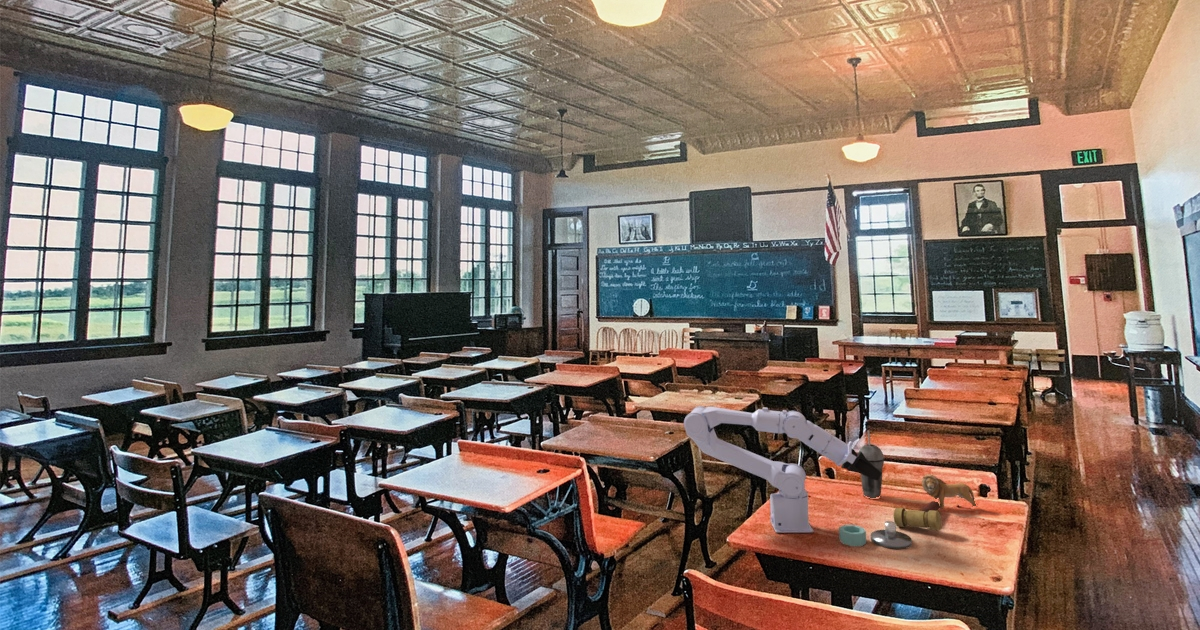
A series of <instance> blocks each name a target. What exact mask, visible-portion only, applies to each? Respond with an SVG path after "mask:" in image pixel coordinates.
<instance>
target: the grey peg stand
mask: <svg viewBox="0 0 1200 630" xmlns="http://www.w3.org/2000/svg"><path fill="white" fill-rule="evenodd" d="M884 528H885V529H878V530H874V531H872V532H871V533H870V541H871V542H872V543H873V544H874V545H876V546H879V547H882V548H885V549H890V550H891V549H892V550H903V549H909V548H910V547H911V546H912V545H913V540H912V537H911V536H910V535H908V534H906V533H904V532H903V531H898V530H897V526H896V523H895V522H894V521H891V520H888V521H887V520H885V521H884Z"/></svg>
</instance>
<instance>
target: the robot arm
mask: <svg viewBox="0 0 1200 630" xmlns="http://www.w3.org/2000/svg"><path fill="white" fill-rule="evenodd" d="M721 424H731V425H741V426H742V425H743V426H751V427H753V429H755V431H757V432H763V433H765V432H766V433H771V434H772V433H774V434H785V435H787V437H788V438H790V439H797V440H798V441H800V442H802V443H803V444H805V445H806V446H807V447H808V448H811V449H812V450H814V451H815V452H817V453H818V454H820V455H822V456H823V457H824V458H826V459H828V460H829V461H831V462H833V463H834V464H835V465H836V466H837V467H840V468H841V469H846V470H847V472H854V473H857V474H860V475H861V474H862V475H864V476H867V477H869V478H872V479H874V480H877V481H878V479H879V478H880V476H881V475H882V476H883V472H882V473H881V472H880V471H879V470H878V469H877V468H876V467H874V466H873V465H872V464H871V463H870V462H869V461H868V460H867V459H866V458H865V456H864V455H863V453H862V452H861V451H859V450H858V452H859V453H857V452H856V450H855V449H853V448H852V446H853V445H854V442H853V441H851V440H850V441H848V442H847V443H846V442H844V441H842V440H841V439H839V438H838V437H836V436H834V435H833V434H831V433H830V432H828V431H826V430H825V429H824V428H822V427H820V426H818V424H814V423H813V422H812V421H811V420H807V419H806V417H805V416H804V415H803V413H801V412H799V411H796V410H790V411H787V410H786V409H783V410H782V411H779V410H778V411H777V410H770V409H769V408H768V407H764V406H763V407H762V409H760V408H758V409H757V410H755V411H754V412H747V411H743V410H741V411H740V410H736V409H729V408H722V407H718V406H717V407H716V406H706V407H705V406H702V405H699V406H695V407H694V408H693V409H692V410H691V412H690V413H688V414H686V416H685V418H684V420H683V427H684V430H685V433H686V436H687V437H689V438H690V439H691V440H692V441H693V442H694V443H695V444H696V446H697V447H698V448H699V450H700V451H701V452H702V453H703V454H704V455H707V456H710V457H712V458H714V459H717V460H720V461H722V462H723V463H727V464H729V465H731V466H734V467H736V468H738V469H741V470H742V471H745V472H747V473H750V474H752V475H754V476H757V477H760V478H762V479H764V480H766V481H767V482H768V483H769V484H770V485H771V486H772V487H773V488H776V489H778V492H775V493H771V494H770V496H769V497H770V498H769V499H770V500H769V502H770V503H769V504H770V505H769V507H770V524H771V526H772V528H773V529H774V531H775V532H776V534H777V533H778V534H779V533H780V534H781V533H785V534H786V533H788V534H789V533H814V529H813V528H812V526H811V525H810V521H809V520H810V519H809V493H808V491H807V490H806V485H805V484H806V478H807V474H806V471H805V470H804V468H803V467H802V466H800V465H799V464H797V463H786V462H783V461H777V460H776V461H775V460H774V461H773V460H772V459H769V458H766V457H764V456H762V455H759V454H758V453H757V454H756V453H754V452H752V451H750V450H748V449H744V448H742V447H740V446H738V445H735V444H733V443H729V442H727V441H725V440H722V439H721V438H718V436H717V434H716V431H715V428H714V427H716V426H719V425H721Z"/></svg>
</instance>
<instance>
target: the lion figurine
mask: <svg viewBox="0 0 1200 630" xmlns="http://www.w3.org/2000/svg"><path fill="white" fill-rule="evenodd" d="M921 483H922V484H921V485H922V488H923V490H924V492H926V494H928V496H930V497H933V499H934V498H935V499H937V498H939V499H938V502H939V506H940V508H939V509H940V510H943V509H945V503H944V502H945V499H946V498H954V497H957V496H958V498H959V497H961V498H964V500H965V501H967V502H968V503H970V504H971V505H972V507H973V506H976V504H977V503H976V504H975V502H976V499H975V495H974V492H973V490H972V488H971V487H970V486H969V485H968V484H966V483H964V482H963V483H962V482H958V483H946V482H944V481H943V480H942V479H941V478H938V477H936V476H935V475H933V474H925V475H924V476H923V477H922V480H921ZM974 499H975V501H974ZM976 507H977V506H976Z"/></svg>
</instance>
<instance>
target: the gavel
mask: <svg viewBox="0 0 1200 630" xmlns="http://www.w3.org/2000/svg"><path fill="white" fill-rule="evenodd" d="M938 502H939V501H938ZM938 502H935V501H934V500H933V501H930V502H929V503H927V504H926V505H925V506H923V507H922V508H920V509H919V510H917V509H916V510H913V509H908V510H907V509H905V508H904V507H896V508H894V510H893V522H895V523H896V527H901V528H906V527H907V526H908V527H912V528H913V527H914V528H924V529H925V528H926V529H927V528H929V530H933V531H941V529H942V524H943V522H942V515H941V512H939V508H940V502H939V503H938Z"/></svg>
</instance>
